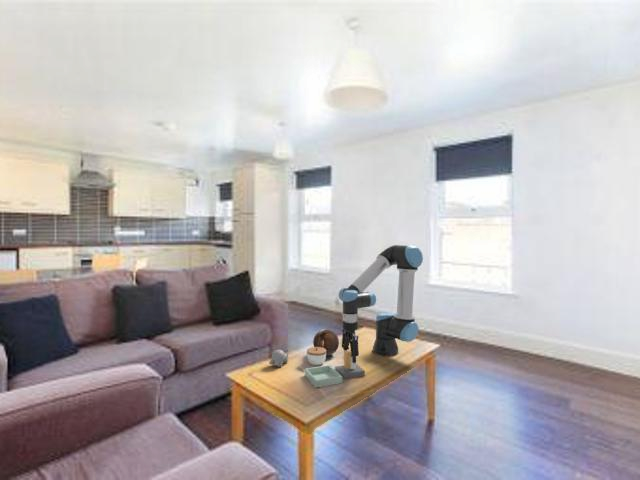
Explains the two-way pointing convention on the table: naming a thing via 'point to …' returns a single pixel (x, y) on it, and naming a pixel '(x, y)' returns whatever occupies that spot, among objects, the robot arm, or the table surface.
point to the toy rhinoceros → (279, 358)
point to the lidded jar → (316, 355)
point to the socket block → (350, 372)
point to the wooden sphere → (326, 341)
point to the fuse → (347, 359)
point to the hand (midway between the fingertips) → (349, 365)
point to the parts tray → (323, 376)
